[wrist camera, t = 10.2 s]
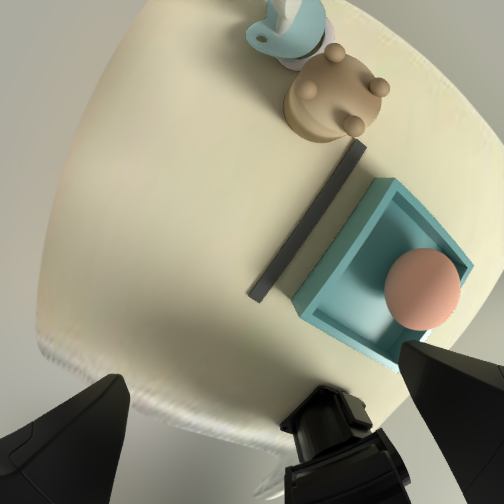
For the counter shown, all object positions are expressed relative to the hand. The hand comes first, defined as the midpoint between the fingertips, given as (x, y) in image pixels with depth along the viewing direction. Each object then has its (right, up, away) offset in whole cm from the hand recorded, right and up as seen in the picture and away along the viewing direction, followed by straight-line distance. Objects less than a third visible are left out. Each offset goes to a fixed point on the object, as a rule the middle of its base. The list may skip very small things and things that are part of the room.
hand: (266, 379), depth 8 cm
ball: (+12, +1, +10) cm, 16 cm away
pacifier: (+3, +20, +9) cm, 22 cm away
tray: (+10, +2, +14) cm, 17 cm away
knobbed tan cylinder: (+4, +14, +10) cm, 18 cm away
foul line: (+4, +6, +12) cm, 14 cm away
